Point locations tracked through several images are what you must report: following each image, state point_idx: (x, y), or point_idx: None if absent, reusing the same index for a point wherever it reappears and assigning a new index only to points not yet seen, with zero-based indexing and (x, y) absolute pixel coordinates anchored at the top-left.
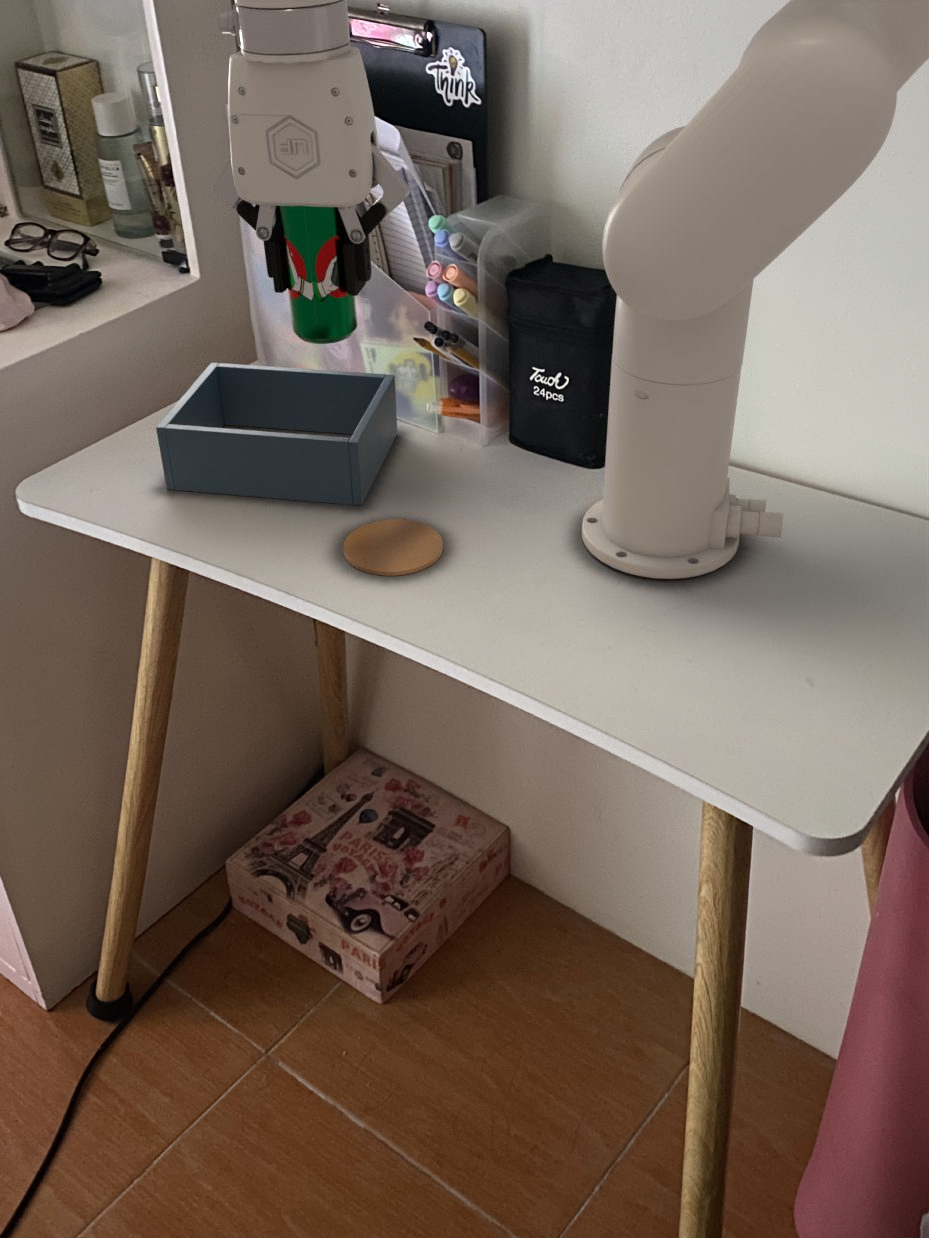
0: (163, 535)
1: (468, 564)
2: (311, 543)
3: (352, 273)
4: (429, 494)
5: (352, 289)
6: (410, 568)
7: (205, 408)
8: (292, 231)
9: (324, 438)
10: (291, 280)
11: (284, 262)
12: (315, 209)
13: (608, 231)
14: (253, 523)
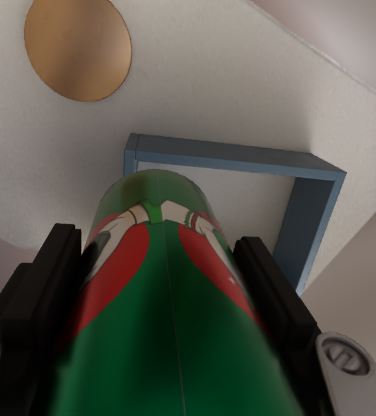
0: (308, 68)
1: None
2: (166, 57)
3: (42, 253)
4: (70, 158)
5: (59, 228)
6: None
7: (293, 249)
8: (242, 342)
9: (164, 157)
10: (222, 240)
11: None
12: None
13: None
14: (227, 95)
